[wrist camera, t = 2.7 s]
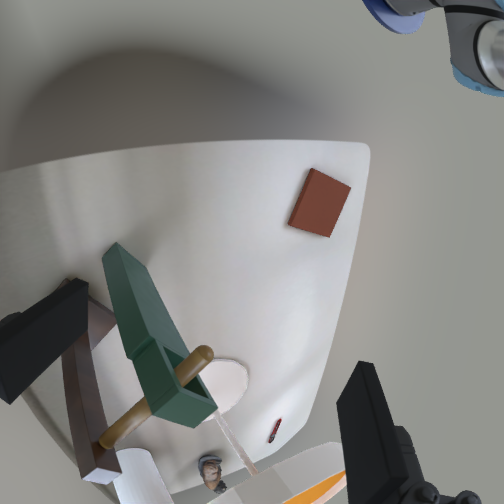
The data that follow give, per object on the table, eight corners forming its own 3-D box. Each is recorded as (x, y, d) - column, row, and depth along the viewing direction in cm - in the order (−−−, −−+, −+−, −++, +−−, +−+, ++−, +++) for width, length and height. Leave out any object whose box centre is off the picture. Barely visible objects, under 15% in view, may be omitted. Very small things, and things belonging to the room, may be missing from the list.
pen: (282, 417, 82) (283, 418, 82) (271, 441, 87) (272, 442, 87) (276, 419, 81) (278, 420, 81) (266, 443, 86) (267, 444, 86)
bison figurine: (193, 456, 71) (209, 485, 63) (217, 448, 74) (234, 476, 66) (197, 472, 76) (211, 498, 68) (218, 464, 79) (233, 489, 72)
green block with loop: (116, 241, 39) (173, 389, 20) (146, 267, 43) (223, 409, 23) (101, 257, 39) (145, 413, 19) (132, 282, 42) (198, 430, 23)
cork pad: (310, 167, 49) (314, 169, 49) (347, 186, 55) (351, 187, 55) (287, 223, 52) (290, 226, 51) (326, 235, 58) (329, 237, 57)
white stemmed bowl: (187, 319, 50) (299, 481, 26) (289, 356, 69) (382, 453, 45) (111, 425, 52) (168, 563, 28) (216, 437, 71) (280, 533, 47)
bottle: (137, 441, 57) (180, 537, 38) (159, 458, 64) (201, 540, 45) (96, 458, 54) (130, 552, 35) (122, 474, 61) (158, 555, 41)
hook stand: (121, 215, 38) (182, 348, 19) (170, 260, 44) (260, 391, 25) (29, 324, 36) (34, 483, 17) (80, 355, 42) (116, 500, 23)
